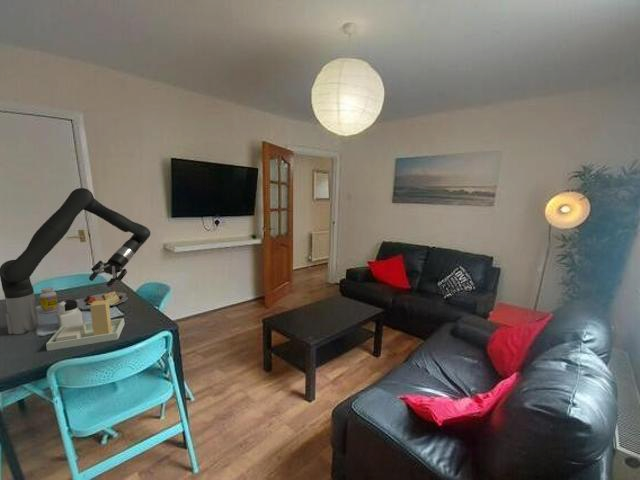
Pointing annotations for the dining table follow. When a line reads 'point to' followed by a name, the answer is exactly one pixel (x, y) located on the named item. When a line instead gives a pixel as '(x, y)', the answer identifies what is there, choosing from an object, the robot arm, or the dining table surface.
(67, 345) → the tray
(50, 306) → the supplement bottle
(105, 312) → the juice carton
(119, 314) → the dining table surface
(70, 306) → the container
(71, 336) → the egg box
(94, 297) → the food plate
